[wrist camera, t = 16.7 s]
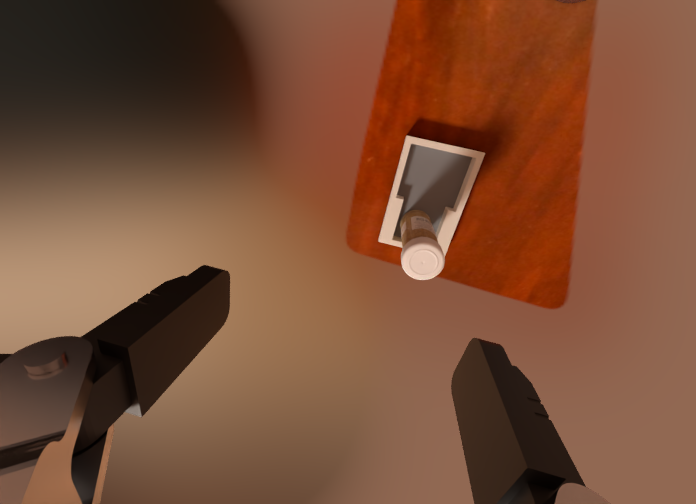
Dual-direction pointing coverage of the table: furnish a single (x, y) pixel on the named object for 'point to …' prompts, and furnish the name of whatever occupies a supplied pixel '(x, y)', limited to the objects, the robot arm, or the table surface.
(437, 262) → the sprinkles bottle
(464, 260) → the table surface
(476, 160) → the shallow tray
